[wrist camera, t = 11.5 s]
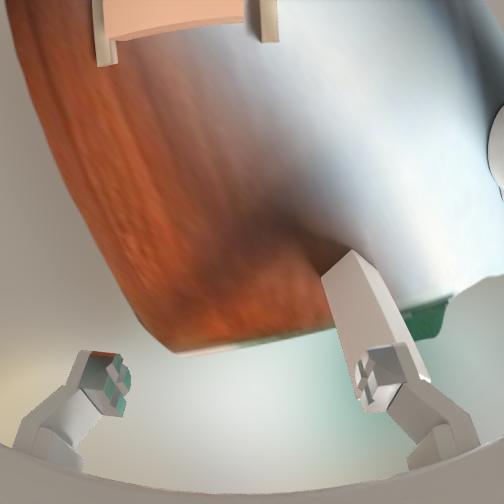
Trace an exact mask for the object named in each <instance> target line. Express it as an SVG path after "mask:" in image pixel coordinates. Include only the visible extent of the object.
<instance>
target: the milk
mask: <svg viewBox="0 0 504 504" xmlns="http://www.w3.org/2000/svg"><path fill="white" fill-rule="evenodd" d="M321 281H322V284H323V287H324V290H325V293H326V297H327V300H328V303H329V306H330V309H331V312H332V316H333V319H334V322H335V325H336V329H337V332H338V335H339V339H340V342H341V346H342V349H343V352H344V356H345V359H346V363H347V366H348V370H349V373H350V377H351V381H352V384H353V388H354V391H355V395H356V399H358V400H360V397H361V395H362V391H361V390H360V389H359V388H357V384H356V378H355V369H356V365H357V362H358V361H359V360H361V356H360V353H361V350H362V349H363V348H364V347H371V346H378V345H385V344H394V343H400V342H405V343H406V344H407V347H408V349H409V351H410V354H411V356H412V359H413V361H414V364H415V366H416V368H417V371H418V374H419V376H420V379H421V380H422V379H425V380H426V381H428V382H429V383H430V382H431V379H430V377H429V374H428V372H427V370H426V367H425V365H424V363H423V361H422V358H421V356H420V354H419V352H418V350H417V347H416V345H415V343H414V341H413V339H412V337H411V335H410V333H409V331H408V329H407V326H406V324H405V322H404V320H403V318H402V316H401V314H400V312H399V310H398V308H397V306H396V304H395V302H394V300H393V299H392V297H391V295H390V293H389V291H388V289H387V287H386V285H385V283H384V281H383V280H382V278H381V276H380V274H379V272H378V271H377V270H376V269H375V268H374V267H373V266H372V265H371V264H370V263H368V262H367V261H366V260H365V259H364V258H362V257H361V256H360V255H359V254H358V253H357V252H355V251H354V250H353V249H351V250H350V251H349V252H348V253H347V254H346V255H345V256H344V257H343V258H342V259H341V260H339V261H338V262H337V263H336V264H335V265H334V266H333V267H332V268H331V269H330V270H328V271H327V272H326V273H325V274H324V275H323V276H322V277H321Z"/></svg>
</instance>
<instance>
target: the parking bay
mask: <svg viewBox="0 0 504 504" xmlns="http://www.w3.org/2000/svg"><path fill="white" fill-rule="evenodd" d="M103 1H104V0H92V11H93V26H94V37H95V48H96V57H97V66H98V67H104V66H109V65H112V64H116V63H118V57H117V47H116V40H108V39H106V37H105V25H104V12H103ZM258 1H259V16H260V31H261V43H277V42H279V30H278V14H277V0H258Z"/></svg>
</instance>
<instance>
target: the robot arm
mask: <svg viewBox="0 0 504 504" xmlns="http://www.w3.org/2000/svg"><path fill="white" fill-rule="evenodd" d="M488 160H489V166H490V170H491V173H492V176H493V178H494V180H495V181H496V183H497V184H498V185H499V187H500V189H501V194H502V199H503V202H504V106H503V107H502V108H501V109H500V111H499V112H498V114H497V116H496V118H495V120H494V123H493V125H492V129H491V132H490V137H489V144H488ZM360 356H361V360H359V361H358V362H357V365H356V369H355V378H356V384H357V388H359V389H360V390H361V391H362V395H361V397H360V401H361V405H362V409H363V413H364V414H368V413H375V412H381V411H387V413H388V414H389V415H390V416H391V418H392V419H394V421H395V422H396V423H397V424H398V425H399V426H400V427H401V428H402V429H403V430H404V431H405V432H406V433H407V434H408V435H409V437H410V438H411V439H412V440H413V441H414V442H415V443H416V444H417V446H416V447H415V448H414V449H413V450H412V451H411V452H410V453H409V454H408V455H407V457H406V458H407V463H408V467H409V471H407V472H404V473H400V474H396V475H392V476H388V477H384V478H380V479H375V480H371V481H366V482H361V483H355V484H350V485H344V486H337V487H331V488H323V489H315V490H307V491H296V492H281V493H259V494H226V493H204V492H190V491H179V490H170V489H162V488H155V487H148V486H141V485H136V484H130V483H125V482H120V481H115V480H110V479H106V478H102V477H97V476H93V475H89V474H86V473H82V468H83V464H84V458H83V456H82V455H81V454H80V453H78V452H77V451H76V450H75V449H74V448H75V447H76V446H77V445H78V444H79V442H80V441H81V440H82V439H83V438H84V437H85V436H86V434H87V433H88V432H89V431H90V430H91V429H92V428H93V426H94V425H95V424H96V423H97V422H98V421H99V419H101V417H102V415H107V416H115V417H123V414H124V410H125V406H126V400H125V398H124V396H125V395H126V394H127V393H128V392H129V390H130V386H131V375H130V372H129V370H128V368H127V367H126V366H125V365H123V364H122V362H123V358H122V357H121V355H120V354H115V353H106V352H97V351H88V350H81V351H80V352H79V353H78V355H77V357H76V360H75V362H74V365H73V367H72V370H71V372H70V375H69V377H68V380H67V383H66V385H65V386H63V385H62V386H61V387H60V388H58V389H57V390H56V391H55V392H54V393H53V394H51V395H50V396H49V397H48V398H47V399H46V400H44V401H43V402H42V403H41V404H40V405H39V406H37V407H36V408H35V409H34V410H33V411H31V412H30V413H29V414H28V415H27V416H26V417H24V418H23V419H22V421H21V424H20V427H19V429H18V432H17V435H16V438H15V441H14V444H13V447H12V448H10V447H7V446H5V445H3V444H1V443H0V504H504V435H503V436H501V437H499V438H497V439H495V440H493V441H490V442H488V443H486V444H484V445H480V442H479V439H478V436H477V433H476V430H475V427H474V425H473V422H472V420H471V417H470V415H469V414H468V413H467V412H466V411H464V410H463V409H462V408H461V407H459V406H458V405H457V404H456V403H454V402H453V401H452V400H451V399H449V398H448V397H447V396H445V395H444V394H443V393H442V392H440V391H439V390H438V389H436V388H435V387H434V386H433V385H431V384H430V383H429V382H428V381H426V380H425V379H422V380H421V379H420V376H419V374H418V371H417V368H416V366H415V364H414V361H413V359H412V356H411V354H410V351H409V349H408V347H407V344H406V343H405V342H400V343H394V344H385V345H378V346H371V347H364V348H363V349H362V350H361V353H360Z"/></svg>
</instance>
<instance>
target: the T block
mask: <svg viewBox="0 0 504 504" xmlns="http://www.w3.org/2000/svg"><path fill="white" fill-rule="evenodd" d="M103 12H104V25H105V37H106V39H108V40H118V41H127V40H131V39H135V38H140V37H144V36H149V35H154V34H159V33H164V32H169V31H175V30H181V29H188V28H195V27H203V26H211V25H221V24H233V23H243V20H244V8H243V0H104V1H103Z"/></svg>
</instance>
